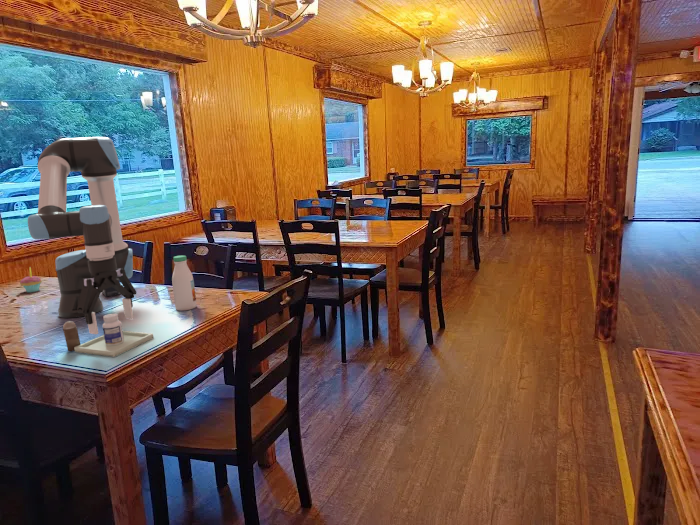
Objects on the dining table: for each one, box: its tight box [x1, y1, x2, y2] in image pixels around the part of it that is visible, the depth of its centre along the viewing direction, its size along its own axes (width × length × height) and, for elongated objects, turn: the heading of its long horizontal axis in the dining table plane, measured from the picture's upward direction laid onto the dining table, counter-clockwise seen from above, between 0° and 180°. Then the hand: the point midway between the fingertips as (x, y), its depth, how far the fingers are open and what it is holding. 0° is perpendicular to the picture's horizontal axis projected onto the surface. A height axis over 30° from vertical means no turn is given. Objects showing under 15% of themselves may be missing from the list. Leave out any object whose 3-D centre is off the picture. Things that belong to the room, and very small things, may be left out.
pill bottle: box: [102, 313, 124, 346], centre depth 153 cm, size 5×5×9 cm
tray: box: [74, 330, 154, 358], centre depth 154 cm, size 16×16×2 cm
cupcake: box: [19, 267, 43, 293], centre depth 231 cm, size 9×8×12 cm
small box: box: [101, 280, 121, 298], centre depth 218 cm, size 11×6×10 cm, turn 34°
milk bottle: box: [171, 255, 197, 311], centre depth 188 cm, size 8×8×20 cm
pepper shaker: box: [62, 320, 82, 353], centre depth 151 cm, size 4×4×9 cm
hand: (112, 325), depth 153 cm, fingers open, 13 cm apart
